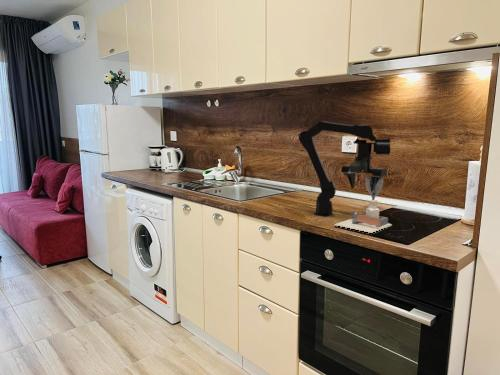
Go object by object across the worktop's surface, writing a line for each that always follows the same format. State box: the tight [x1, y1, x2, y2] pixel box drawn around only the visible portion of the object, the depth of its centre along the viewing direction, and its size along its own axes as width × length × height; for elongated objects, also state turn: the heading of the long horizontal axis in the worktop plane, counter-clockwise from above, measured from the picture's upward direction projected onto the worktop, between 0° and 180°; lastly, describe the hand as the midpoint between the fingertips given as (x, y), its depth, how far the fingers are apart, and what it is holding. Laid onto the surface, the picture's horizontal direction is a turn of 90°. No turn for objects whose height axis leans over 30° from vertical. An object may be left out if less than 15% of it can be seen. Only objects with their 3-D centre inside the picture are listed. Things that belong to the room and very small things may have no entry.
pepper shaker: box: [365, 199, 380, 225], centre depth 148 cm, size 4×4×10 cm
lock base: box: [334, 214, 393, 234], centre depth 148 cm, size 16×17×3 cm
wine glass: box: [364, 176, 384, 211], centre depth 177 cm, size 8×8×15 cm
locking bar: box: [351, 211, 381, 226], centre depth 145 cm, size 12×2×4 cm, turn 43°
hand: (362, 190), depth 160 cm, fingers open, 9 cm apart
